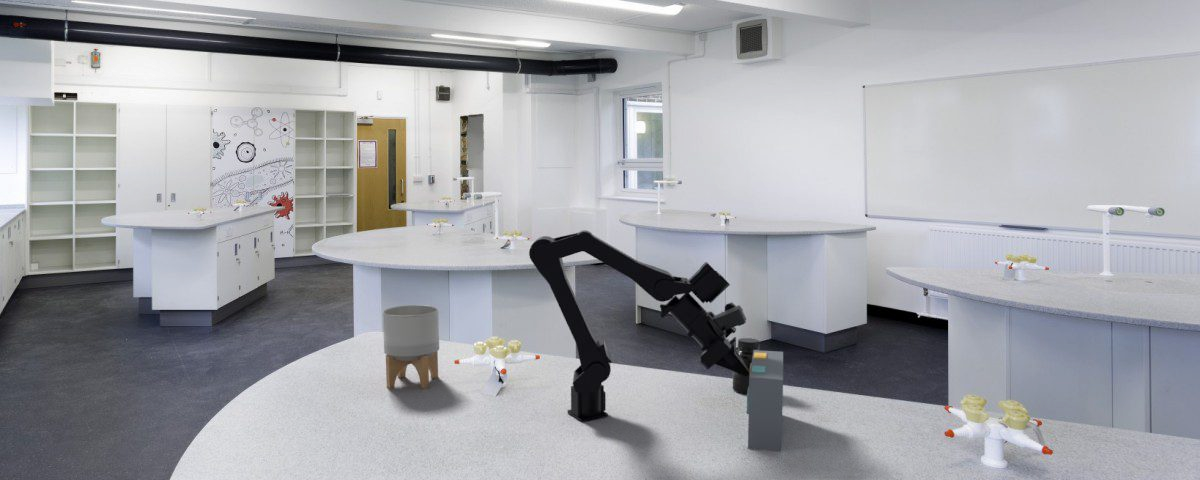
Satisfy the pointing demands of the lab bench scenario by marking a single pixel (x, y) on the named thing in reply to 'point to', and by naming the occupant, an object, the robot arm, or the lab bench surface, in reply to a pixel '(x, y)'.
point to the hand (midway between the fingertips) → (748, 374)
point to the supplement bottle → (746, 354)
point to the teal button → (748, 401)
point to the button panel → (765, 401)
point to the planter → (411, 342)
